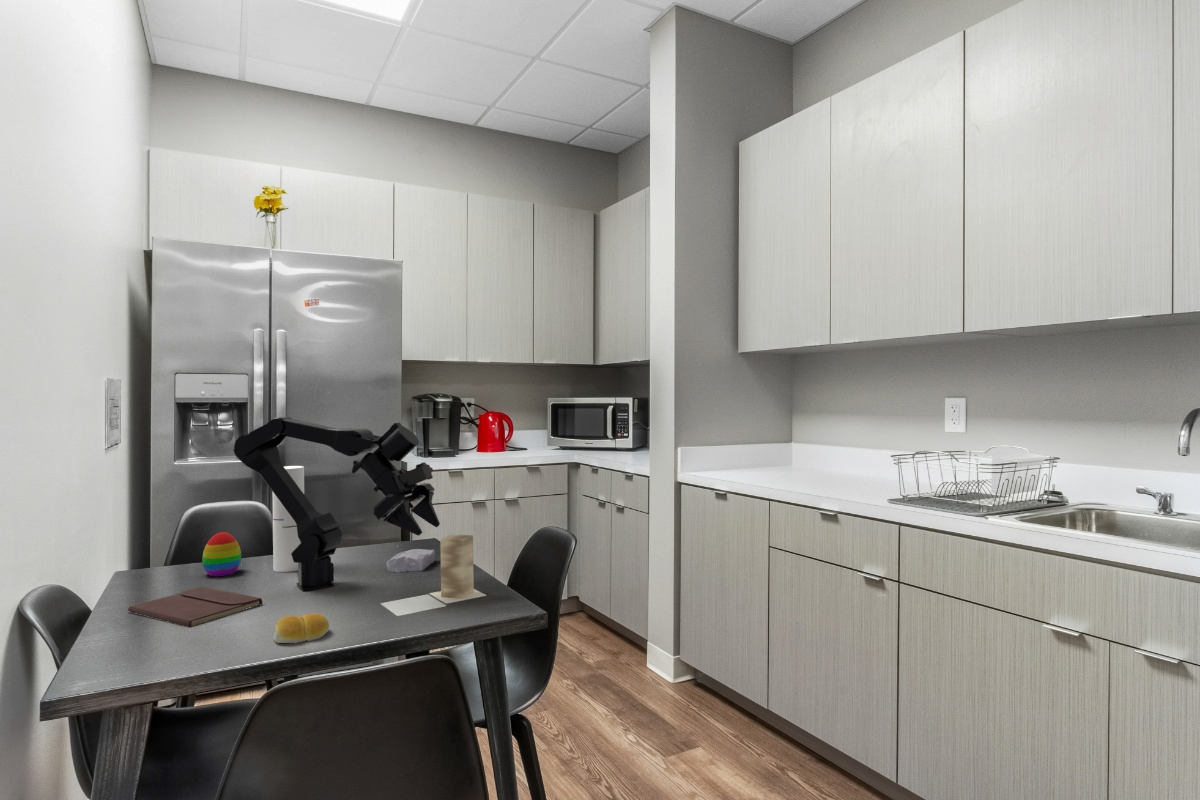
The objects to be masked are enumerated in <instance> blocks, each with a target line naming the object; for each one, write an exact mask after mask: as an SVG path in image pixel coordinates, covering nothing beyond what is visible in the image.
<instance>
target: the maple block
mask: <svg viewBox="0 0 1200 800" xmlns="http://www.w3.org/2000/svg"><path fill="white" fill-rule="evenodd" d="M439 542H440V591H441V597H448V598H465V597H466V596H468V595H469V594H471V593H472V592H474V589H475V588H474V587H475V586H474V583H475V581H474V580H475V579H474V575H475V574H474V535H471V534H470V535H468V534H449V535H447V536H445V537H443V538H440V541H439Z"/></svg>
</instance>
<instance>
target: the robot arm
mask: <svg viewBox="0 0 1200 800" xmlns="http://www.w3.org/2000/svg"><path fill="white" fill-rule="evenodd" d="M287 437H288V438H293V439H297V440H303V441H306V442H311V443H316V444H320V445H324V446H326V447H329V448H331V449H332V450H333V451H335V452H337V453H340V454H343V455H345V456H346V457H355V456H357V457H358V456H362V455H363V457H362V458H361V459H358V460H353V462H352V470H351V473H352V474H358V473H362V472H364V474H365V475H366V476H367V477H368V478H369V480H371V482H372V483H373V484H374V486H375V487H373V491H375V492H376V493H379V492H380V493H381V494H382V495H383V497H382V499H381V500H379V502H378V503H377V504H376V505H374V507H373V515H374V516H375V517H376V519H377V520H378V521H381V520H382V521H383V522H385V523H386V522H387V523H389V524H392V525H394V526H397V527H398V528H401V529H404V530H405V531H407V532H409V533H412V534H414V535H415V536H421V535H422V534H423V531H422V529H421V527H420V525H419V524H418V522H417V520H416V519H415V518H414V516H413V514H412V513H414V514H415V515H416V516H418V517H419V518H421V519H422V520H424V521H426V522H427V523H428V524H430V525H431V526H433V527H435V528H438V527H439V526H441V524H440V521H439V518H438V515H437V513H436V511H435V507H434V506H433V498H434V497H433V496H434V495H435V493H434V492H435V491H436V490H435V488H434V487H433V485H432V483H430V482H429V483H427V482H424V481H426V480H427V481H429V480H431V479H433V478H434V477H433V474H432V472H433V469H434V468H433V467H431V465H430V464H428V463H426V462H425V461H424V462H423V461H422V462H421V463H419V464H416V465H415V468H412V469H411V470H408V471H405V470H404V469H403V468H401V469H398V468H397V467H396V465H395V464H394V463H393V462H394V461H396V462H401V461H402V460H403V459H404V458H405V457H406V456H407V455H408V454H409V453H411V452H412V451H413V450H414V449H415V448H416V447H417V446H418V445H419V443H420V441H419V438H418V437H417V435H416V434H415V433H414V432H413V431H412V430H410V429H409V428H407V427H405V426H403V425H402V423H401V422H394V423H393V424H392V425H391V426H390V427H389V429H388V430H387V431H386V432H385V433H383V434H382V435H376V434H373V432H372V431H371V430H370V429H368V428H340V427H339V428H337V427H332V426H326V425H322V424H316V423H313V422H308V421H303V420H299V419H295V418H294V419H293V418H292V417H289V416H283V417H282V416H281V417H280V416H279V417H274V418H273V419H271V420H270V421H268V422H267V423H265V424H264V425H261V426H260V427H258V428H255V429H253V430H252V431H250V432H249V433H246V434H244V435H243V434H242V435H240V436H238V438H237V439H236V440H235V441H234V442H235V443H234V445H233V447H234V448H233V454H234V455H235V457H236V458H237V459H238V460H239V461H240V462H241V463H243V465H244V466H245V467H247V468H249V469H251V470H252V471H254V472H256V473H258V474H259V475H260V476H261V478H262V479H263V480H264V482H265V483H266V484H267V485H268V487H269V488H270V490H271V491H272V494H273V493H274V494H275V495H276V497H277V498H278V499H279V501H280V502H281V503H282V505H283V506H284V507H285V509H286V510H287V512H288V513H289V514H290V516H291V517H292V518H293V520H294V521H295V523H296V525H297V533H298V538H299V540H300V542H301V544H300V545H299V546H298V547H297V548H296V549H295V550H294V551H293V552H292V553H291V555H292V558H293V561H294V562H296V563H298V570H297V571H298V573H297V574H298V577H297V578H298V580H297V581H298V582H296V584H295V585H296V586H297V588H299V590H301V591H303V592H304V591H310V590H318V589H323V588H329V587H333V586H334V583H333V582H334V581H335V580H334V577H335V575H334V574H335V571H334V569H335V568H334V566H335V565H334V563H333V562H332V557H331V556H333V555H335V553H336V551H337V547H338V546H340V544H341V541H342V537H343V532H342V530H341V528H340V527H341V526H342V525H341V524H340V523H338V522H337V521H336V520H335V519H336V518H334V516H333V514H332V513H331V512H329V511H328V512H326V513H320V512H318V511H317V510H316V509H315V507H314V506H313V504H312V503H311V501H310V500H309V499H308V498H307V496H306V495H305V493H304V494H303V492H302V491H301V490H300V488H299V487H298V486H297V484H296V483H295V481H294V480H293V479H292V477H291V476H290V475H289V473H288V472H287V471H286V469H285V468H284V465H283V463H282V462H281V457H280V450H279V448H278V447H279V446H280V445H281V444H283V442H285V440H286V439H287ZM374 449H375V450H374ZM373 450H374V451H373ZM372 451H373V452H372ZM421 482H424V483H421ZM410 509H411V510H410ZM411 512H412V513H411Z"/></svg>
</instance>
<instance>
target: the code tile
mask: <svg viewBox="0 0 1200 800" xmlns="http://www.w3.org/2000/svg"><path fill="white" fill-rule="evenodd" d="M428 595H429V596H431V597H433V598H435V599H436V600H438V601H440V602H441V603H443V604H445V605H447V604H451V603H452V604H453V603H457V602H461V601H467V600H473V599H476V598H482V597H486V596H487V594H485V593H483V592H481V591H479V590H477V589H475V588H474V592H472V593H471V594H469V595H468V596H466V597H465V598H448V597H441V590H440V591H435V592H430V593H429V592H428Z"/></svg>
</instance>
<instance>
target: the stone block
mask: <svg viewBox="0 0 1200 800" xmlns="http://www.w3.org/2000/svg"><path fill="white" fill-rule="evenodd" d="M435 552H436V551H435V549H423V548H413V549H409V550H405V551H401V552H398V553H397V554H394V556H392V557H391V558H390V559H389V560H386V569H387V571H388V572H389V571H391V572H390V573H394V571H395V572H398V571H410V572H422V571H424V570H425V569H426V568H429V567H430V566H429V565H430V564H431V563H432V564H434V562H435V560H436V553H435ZM432 564H431V565H432ZM428 566H429V567H428Z"/></svg>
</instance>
